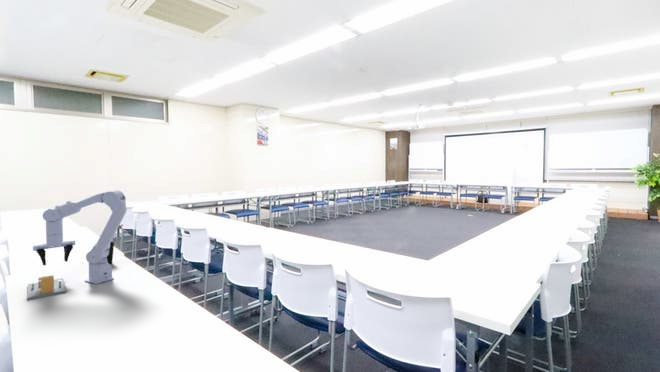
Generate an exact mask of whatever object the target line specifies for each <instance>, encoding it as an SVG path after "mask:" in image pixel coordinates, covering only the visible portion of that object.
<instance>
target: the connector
mask: <svg viewBox="0 0 660 372" xmlns="http://www.w3.org/2000/svg"><path fill="white" fill-rule="evenodd" d="M50 275H51V276H49V275H45V277H43V276H40V277H41V294H42V293H48V292H53V291H54V280H55V278H54V275H53V274H50Z"/></svg>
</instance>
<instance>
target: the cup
mask: <svg viewBox="0 0 660 372" xmlns="http://www.w3.org/2000/svg"><path fill="white" fill-rule="evenodd" d="M114 248H115V242H114V241H111V243H110V248H109V255H108V256H107V262H108V263H109V264H110V265H113V258H114Z"/></svg>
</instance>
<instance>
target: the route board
mask: <svg viewBox="0 0 660 372" xmlns="http://www.w3.org/2000/svg"><path fill="white" fill-rule="evenodd" d="M59 280H61V286H60V287H59ZM67 292H68V291H67V288H66V284H65V280H64V278H63V277H60V278H56V279H55V278H54V291H53V292H48V293H42V294H41V286H40V287H39V281H38V282H34V289H32V283H28V284H27V300H28V299H31V300H35V299H34V298H36V299H40V298H39V297H41V298H46V297H50V296H56V295H61V294H66V293H67Z"/></svg>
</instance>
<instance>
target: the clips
mask: <svg viewBox="0 0 660 372" xmlns="http://www.w3.org/2000/svg"><path fill="white" fill-rule="evenodd" d="M34 283H35V282H31V284H32V289H34ZM60 286H61V280H59V287H60Z"/></svg>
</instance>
